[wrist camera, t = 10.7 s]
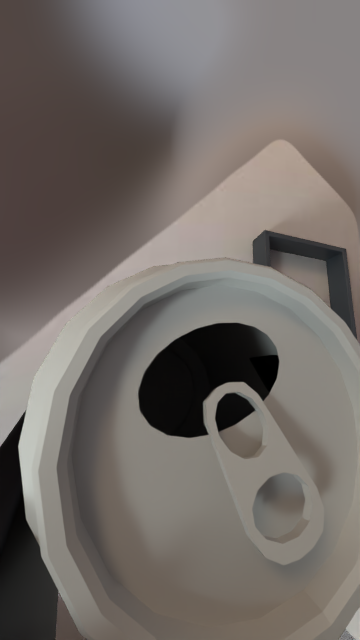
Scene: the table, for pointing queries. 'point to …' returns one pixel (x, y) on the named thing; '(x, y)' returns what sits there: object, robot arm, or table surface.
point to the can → (199, 459)
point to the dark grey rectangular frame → (330, 254)
